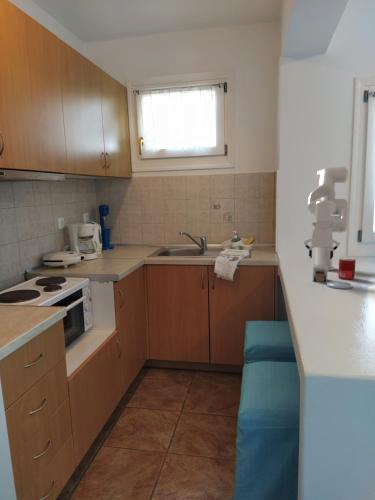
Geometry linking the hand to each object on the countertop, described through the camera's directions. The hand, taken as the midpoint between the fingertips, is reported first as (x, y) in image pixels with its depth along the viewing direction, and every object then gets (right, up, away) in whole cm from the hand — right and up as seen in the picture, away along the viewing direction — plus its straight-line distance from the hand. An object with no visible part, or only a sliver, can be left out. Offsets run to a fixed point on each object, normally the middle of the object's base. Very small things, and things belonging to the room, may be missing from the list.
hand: (320, 258), depth 188 cm
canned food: (+16, -11, +6) cm, 20 cm away
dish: (+5, -13, -10) cm, 18 cm away
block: (0, -12, +2) cm, 12 cm away
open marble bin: (0, -12, +2) cm, 12 cm away
